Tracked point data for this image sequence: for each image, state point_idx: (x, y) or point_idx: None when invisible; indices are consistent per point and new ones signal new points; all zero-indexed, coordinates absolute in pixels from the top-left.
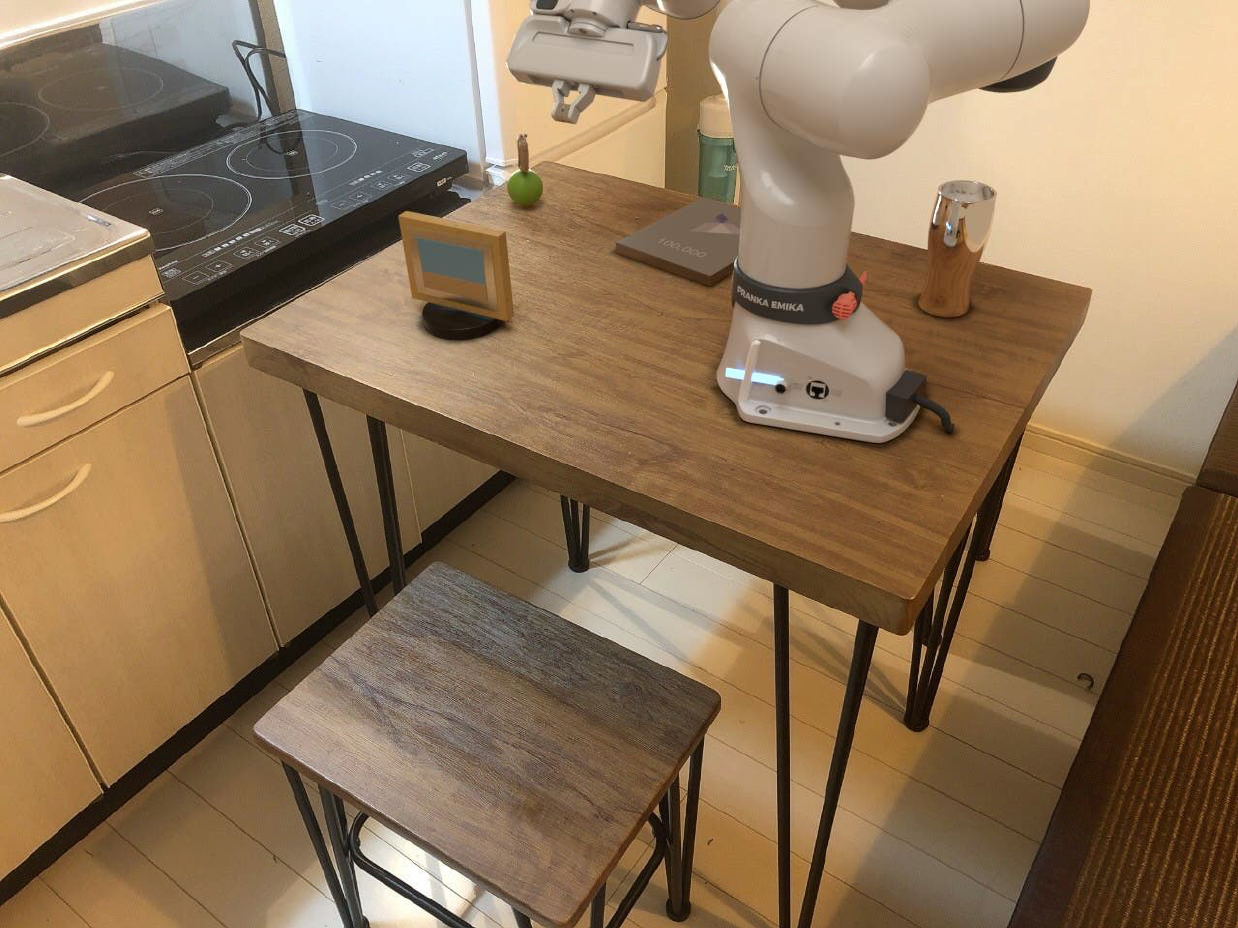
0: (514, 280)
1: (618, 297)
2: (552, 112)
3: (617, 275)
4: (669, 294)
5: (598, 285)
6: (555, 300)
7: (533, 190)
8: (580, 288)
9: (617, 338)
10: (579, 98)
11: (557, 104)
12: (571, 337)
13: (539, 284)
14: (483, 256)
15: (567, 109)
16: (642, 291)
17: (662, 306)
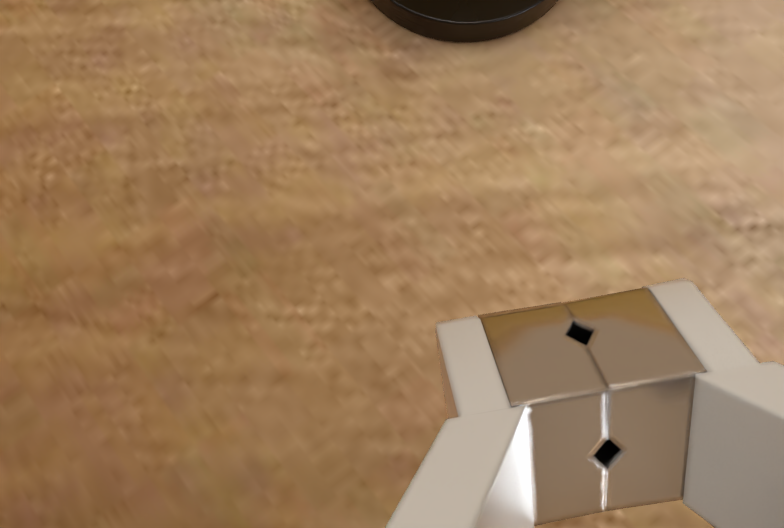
0: (525, 191)
1: (167, 307)
2: (682, 284)
3: (262, 430)
4: (33, 427)
5: (272, 332)
6: (323, 172)
7: None
8: (309, 279)
9: (29, 115)
10: (434, 489)
11: (700, 350)
12: (145, 44)
13: (439, 220)
14: None
15: (527, 355)
16: (122, 388)
17: (12, 345)
